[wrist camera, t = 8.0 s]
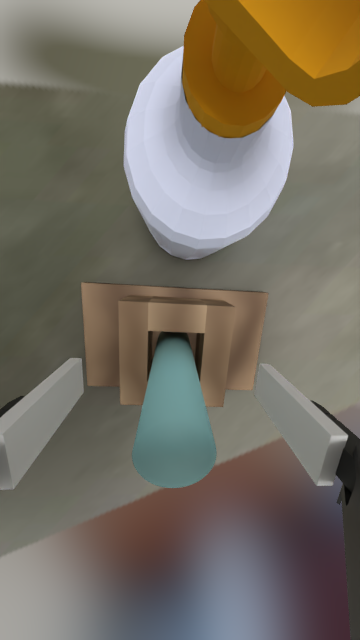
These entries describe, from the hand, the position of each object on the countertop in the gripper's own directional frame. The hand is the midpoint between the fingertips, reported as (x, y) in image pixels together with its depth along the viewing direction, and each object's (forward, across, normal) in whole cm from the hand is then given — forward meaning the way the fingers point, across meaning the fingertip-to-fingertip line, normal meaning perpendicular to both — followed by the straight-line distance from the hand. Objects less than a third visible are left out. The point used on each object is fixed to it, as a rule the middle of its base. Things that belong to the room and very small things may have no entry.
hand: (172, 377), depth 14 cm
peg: (+8, 0, 0) cm, 8 cm away
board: (+9, 0, 0) cm, 9 cm away
